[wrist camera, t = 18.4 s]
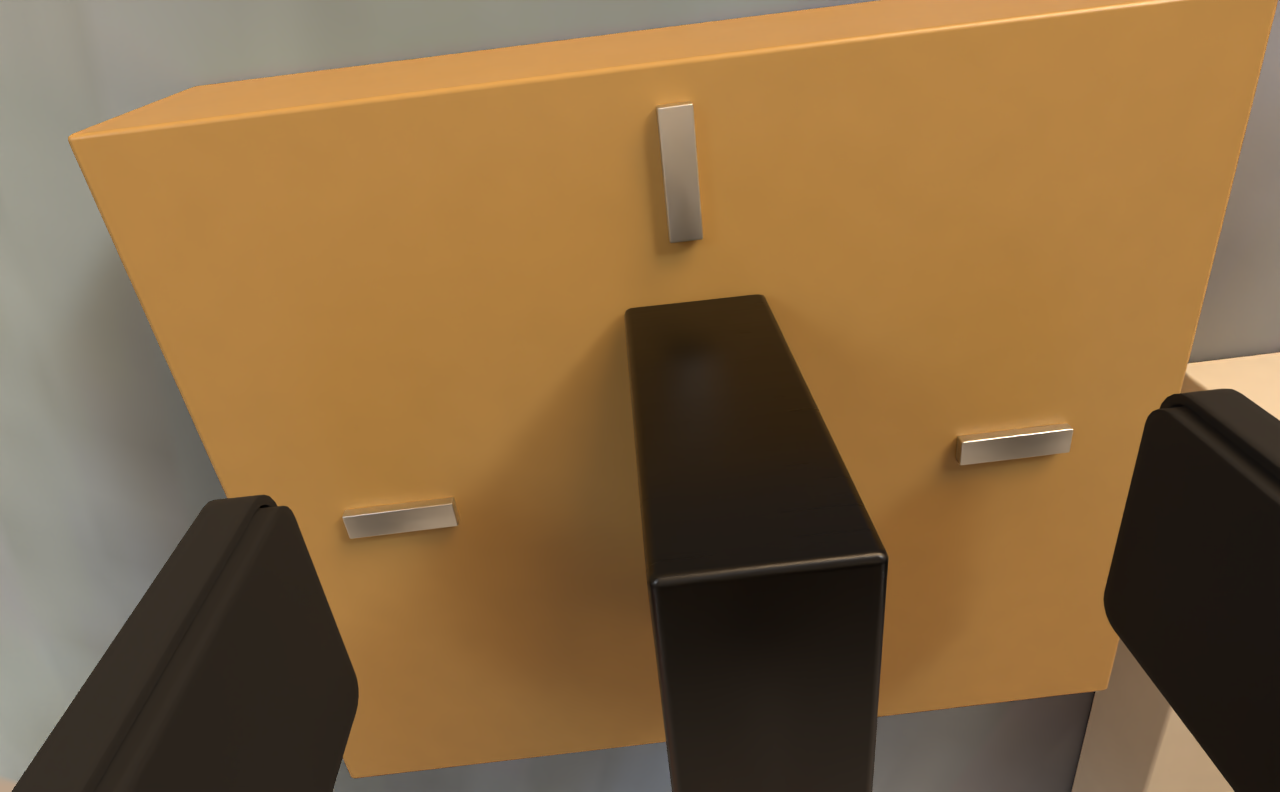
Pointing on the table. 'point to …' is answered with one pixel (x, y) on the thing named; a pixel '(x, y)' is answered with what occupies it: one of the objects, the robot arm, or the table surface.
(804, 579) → the black battery pack
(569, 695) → the orange dial base
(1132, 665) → the white socket plate
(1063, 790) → the table surface
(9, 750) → the table surface
